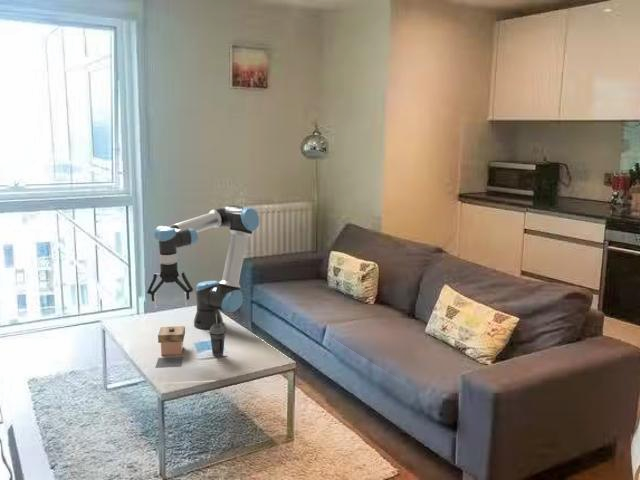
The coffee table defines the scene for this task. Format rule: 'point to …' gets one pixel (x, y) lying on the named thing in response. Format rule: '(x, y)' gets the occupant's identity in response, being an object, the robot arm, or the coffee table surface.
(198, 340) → the coffee table surface
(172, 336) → the lid
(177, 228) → the robot arm
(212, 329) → the beverage cup
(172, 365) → the mat
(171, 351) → the peach open box
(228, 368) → the coffee table surface
